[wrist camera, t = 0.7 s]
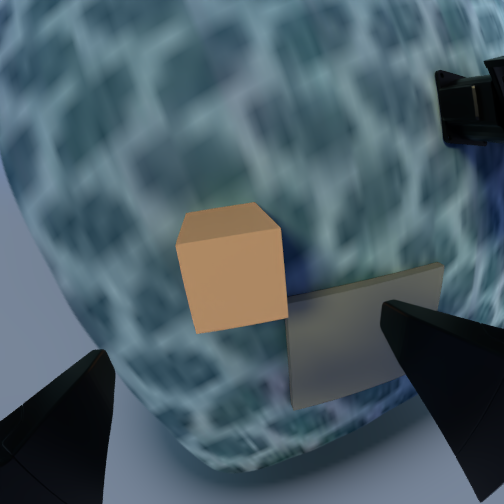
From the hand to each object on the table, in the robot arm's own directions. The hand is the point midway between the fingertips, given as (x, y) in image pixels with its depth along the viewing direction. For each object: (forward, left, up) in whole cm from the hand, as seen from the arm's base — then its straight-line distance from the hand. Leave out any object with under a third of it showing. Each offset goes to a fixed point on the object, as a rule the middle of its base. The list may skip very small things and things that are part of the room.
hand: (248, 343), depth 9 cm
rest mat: (-11, +11, -12) cm, 20 cm away
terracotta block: (0, 0, -12) cm, 12 cm away
